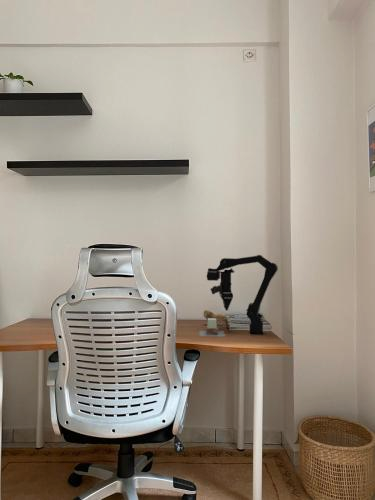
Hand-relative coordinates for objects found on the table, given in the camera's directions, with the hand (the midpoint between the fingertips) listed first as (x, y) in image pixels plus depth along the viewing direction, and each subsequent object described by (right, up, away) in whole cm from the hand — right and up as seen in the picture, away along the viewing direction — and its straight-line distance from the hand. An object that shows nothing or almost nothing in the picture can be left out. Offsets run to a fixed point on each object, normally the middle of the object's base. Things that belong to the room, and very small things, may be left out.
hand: (225, 309), depth 211 cm
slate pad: (-8, -12, -10) cm, 17 cm away
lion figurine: (-5, -13, +17) cm, 21 cm away
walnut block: (-8, -11, -10) cm, 17 cm away
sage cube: (-8, -8, -10) cm, 15 cm away
